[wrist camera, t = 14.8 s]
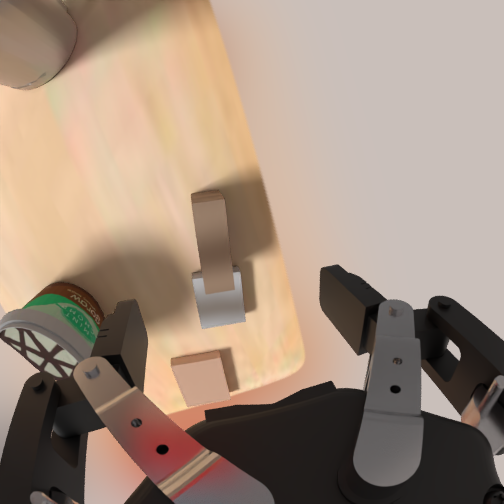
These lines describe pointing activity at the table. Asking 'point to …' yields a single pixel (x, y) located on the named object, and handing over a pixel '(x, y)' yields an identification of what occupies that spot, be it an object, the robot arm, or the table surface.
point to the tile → (201, 378)
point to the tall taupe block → (215, 264)
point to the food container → (54, 329)
